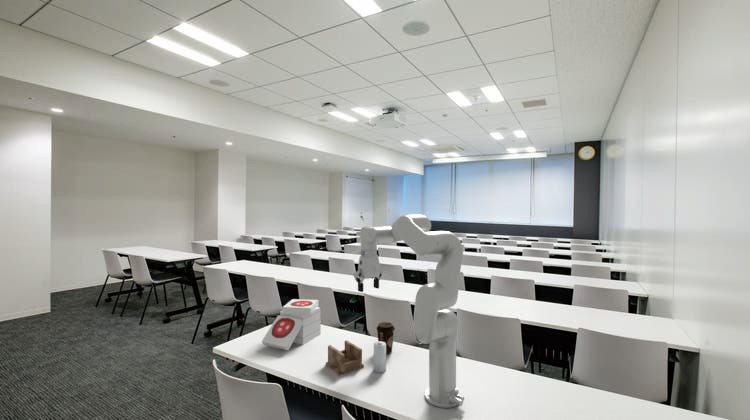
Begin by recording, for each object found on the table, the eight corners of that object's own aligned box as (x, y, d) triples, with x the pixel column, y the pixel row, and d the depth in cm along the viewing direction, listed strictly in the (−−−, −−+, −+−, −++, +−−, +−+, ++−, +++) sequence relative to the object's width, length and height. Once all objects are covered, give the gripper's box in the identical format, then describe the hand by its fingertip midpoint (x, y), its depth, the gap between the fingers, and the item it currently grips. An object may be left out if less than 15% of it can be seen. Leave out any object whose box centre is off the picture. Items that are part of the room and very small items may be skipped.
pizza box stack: (258, 348, 160) (258, 311, 160) (298, 328, 187) (298, 296, 187) (289, 356, 151) (289, 317, 151) (326, 334, 178) (326, 300, 178)
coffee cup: (395, 348, 160) (395, 321, 160) (394, 356, 151) (394, 328, 151) (377, 347, 160) (377, 321, 160) (375, 355, 152) (375, 327, 152)
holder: (364, 367, 141) (364, 348, 141) (340, 375, 134) (340, 356, 133) (348, 357, 150) (348, 339, 150) (325, 364, 143) (325, 346, 143)
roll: (388, 370, 138) (388, 343, 138) (378, 374, 135) (378, 347, 135) (380, 365, 142) (380, 339, 142) (371, 369, 139) (371, 342, 139)
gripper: (359, 255, 144) (359, 294, 144) (387, 252, 156) (387, 288, 156) (349, 253, 150) (349, 291, 150) (376, 250, 161) (376, 285, 161)
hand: (368, 289), depth 153 cm, fingers open, 9 cm apart
